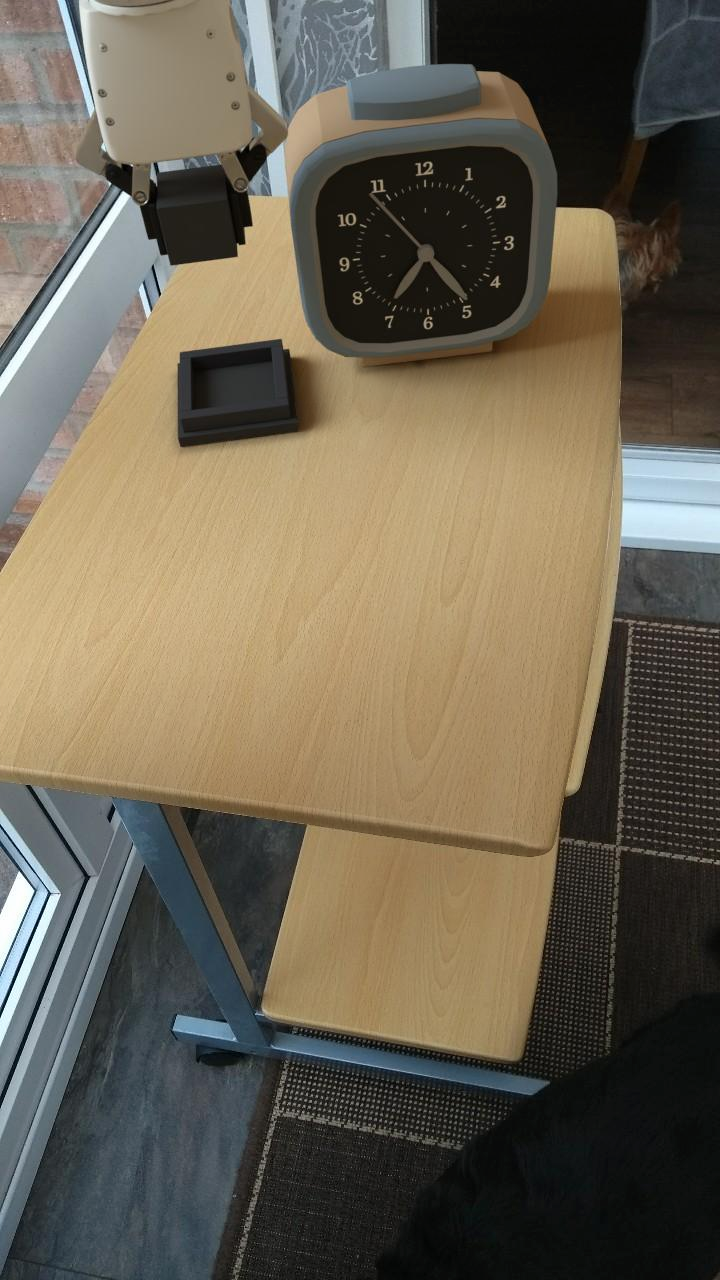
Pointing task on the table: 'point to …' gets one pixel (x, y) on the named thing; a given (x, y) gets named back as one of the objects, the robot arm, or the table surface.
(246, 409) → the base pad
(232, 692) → the table surface
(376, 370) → the table surface
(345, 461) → the table surface
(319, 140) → the alarm clock
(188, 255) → the black cube
